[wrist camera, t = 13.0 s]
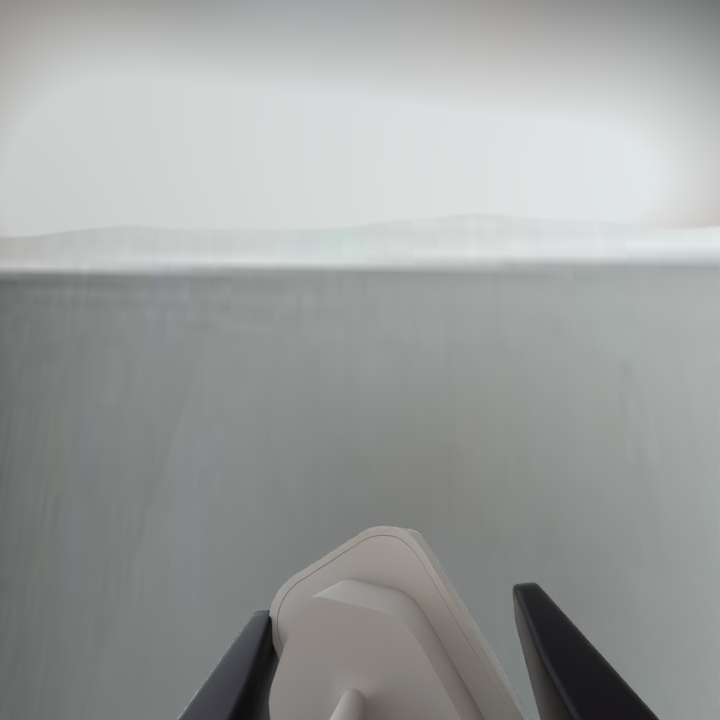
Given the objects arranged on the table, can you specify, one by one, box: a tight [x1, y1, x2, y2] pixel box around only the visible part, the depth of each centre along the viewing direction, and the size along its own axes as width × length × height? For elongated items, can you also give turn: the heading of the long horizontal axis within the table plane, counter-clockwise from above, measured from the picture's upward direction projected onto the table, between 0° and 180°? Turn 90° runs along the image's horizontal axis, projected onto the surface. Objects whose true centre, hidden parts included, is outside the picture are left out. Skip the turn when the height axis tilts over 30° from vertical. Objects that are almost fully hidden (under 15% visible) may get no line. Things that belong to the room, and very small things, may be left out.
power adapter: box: [269, 526, 529, 720], centre depth 8 cm, size 3×5×12 cm, turn 31°
